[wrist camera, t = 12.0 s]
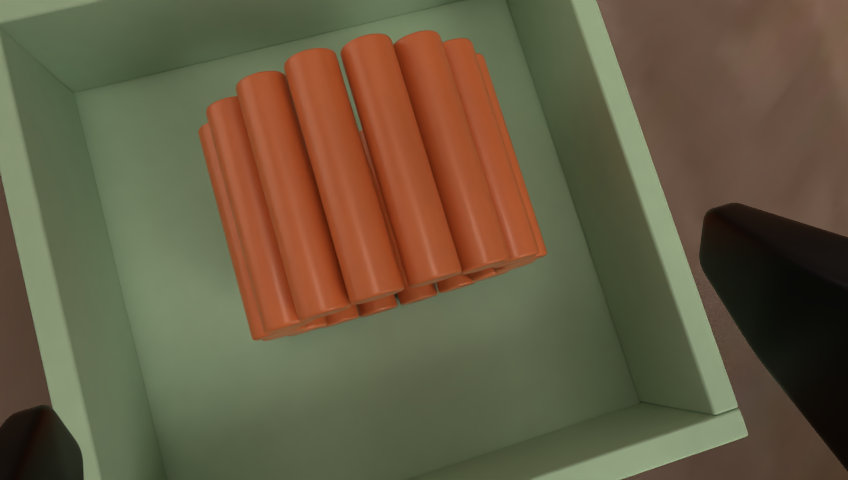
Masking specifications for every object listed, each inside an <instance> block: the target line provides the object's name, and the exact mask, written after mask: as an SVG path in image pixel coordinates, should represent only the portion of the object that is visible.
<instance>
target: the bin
mask: <svg viewBox="0 0 848 480" xmlns="http://www.w3.org/2000/svg"><path fill="white" fill-rule="evenodd" d="M424 30H431V31H435V32H437V33H438V34H439V35H440V37H441V40H442V42H445V41H448V40H451V39H456V38H467V39H469V40H470V41H471V42H472V43H473V47H474V50H475V53H479V54H482V55H483V56H484V58H485V61H486V65H487V68H488V71H489V74H490V77H491V80H492V83H493V86H494V89H495V92H496V95H497V99H498V102H499V105H500V108H501V111H502V114H503V117H504V120H505V123H506V126H507V129H508V133H509V136H510V139H511V142H512V145H513V148H514V151H515V154H516V157H517V160H518V163H519V167H520V170H521V173H522V176H523V179H524V182H525V185H526V188H527V191H528V194H529V197H530V201H531V204H532V207H533V210H534V213H535V216H536V219H537V222H538V225H539V228H540V231H541V235H542V238H543V241H544V244H545V247H546V250H547V255H545V256H544V257H541V258H538V259H536V260H535V261H534V262H532V263H530V264H527V265H524V266H521V267H518V268H515V269H512V270H510V271H508V272H507V273H504V274H501V275H498V276H495V277H492V278H489V279H485V280H481V281H477V282H476V283H475V284H472V285H469V286H466V287H463V288H460V289H457V290H453V291H450V292H446V293H439V291H438V288H437V284H436V282H435V285H436V288H437V292H438V294H437V295H436V296H434V297H431V298H428V299H425V300H422V301H419V302H415V303H412V304H408V305H401V304H400V301H399V298H398V294H397V293H396V294H395V298H396V301H397V307H396V308H394V309H391V310H388V311H385V312H381V313H378V314H375V315H371V316H367V317H360V316H359V317H358V318H357V319H354V320H351V321H348V322H345V323H342V324H338V325H335V326H331V327H327V328H319V329H316V330H312V331H309V332H306V333H302V334H298V335H294V336H284V337H281V338H277V339H273V340H269V341H262V340H258V341H256V340H253V339H252V337H251V333H250V329H249V325H248V321H247V318H246V314H245V310H244V306H243V302H242V299H241V295H240V291H239V287H238V283H237V279H236V276H235V272H234V268H233V264H232V260H231V257H230V253H229V249H228V245H227V241H226V238H225V234H224V230H223V226H222V222H221V218H220V215H219V211H218V207H217V203H216V199H215V196H214V192H213V188H212V184H211V180H210V177H209V173H208V169H207V165H206V161H205V158H204V154H203V150H202V146H201V142H200V138H199V135H198V131H199V129H200V127H201V126H203V125H204V124H206V123H208V119H207V116H206V110H207V108H208V106H209V105H211V104H212V103H214V102H216V101H218V100H221V99H224V98H227V97H233V96H237V93H236V85H237V83H238V82H239V81H240V80H241V79H243V78H244V77H246V76H248V75H251V74H254V73H258V72H262V71H279V72H282V73H284V74H285V70H284V64H285V62H286V61H287V59H288V58H290V57H291V56H293V55H294V54H296V53H299V52H301V51H304V50H308V49H312V48H328V49H331V50H333V51H334V52H335V53H336V55H337V59H338V62H339V66H340V69H341V72H342V76H343V79H344V83H345V86H346V89H347V93H348V96H349V100H350V103H351V106H352V110H353V113H354V117H355V120H356V123H357V127H358V130H359V131H361V130H362V127H361V123H360V120H359V116H358V113H357V110H356V106H355V103H354V99H353V96H352V93H351V89H350V86H349V83H348V79H347V76H346V72H345V69H344V66H343V62H342V59H341V55H340V54H341V49H342V48H343V46H344V45H346V44H347V43H348V42H350V41H351V40H353V39H355V38H358V37H360V36H364V35H368V34H376V33H380V34H385V35H387V36H389V37H390V38H391V40H392V43H393V45H394V43H395V42H396V41H398V40H399V39H401V38H402V37H404V36H406V35H409V34H411V33H414V32H418V31H424ZM285 75H286V74H285ZM0 173H1V178H2V182H3V187H4V191H5V196H6V200H7V205H8V209H9V214H10V219H11V223H12V228H13V232H14V237H15V241H16V246H17V250H18V255H19V259H20V264H21V268H22V273H23V277H24V282H25V286H26V291H27V295H28V300H29V304H30V309H31V313H32V318H33V322H34V327H35V331H36V336H37V340H38V345H39V349H40V354H41V358H42V363H43V367H44V372H45V376H46V381H47V385H48V390H49V394H50V399H51V403H52V408H53V410H54V411H55V412H56V413H57V415H58V416H59V418H60V419H61V420H62V422H63V423H64V424H65V426H66V427H67V429H68V430H69V431H70V433H71V434H72V436H73V437H74V438H75V440H76V441H77V443H78V445H79V447H80V449H81V452H82V457H83V471H84V480H621V479H624V478H627V477H630V476H633V475H636V474H639V473H641V472H644V471H647V470H650V469H653V468H656V467H659V466H662V465H665V464H668V463H671V462H674V461H677V460H680V459H682V458H685V457H688V456H691V455H694V454H697V453H700V452H703V451H706V450H709V449H712V448H715V447H718V446H721V445H723V444H726V443H729V442H732V441H735V440H738V439H741V438H744V437H746V436H748V432H747V429H746V426H745V423H744V420H743V418H742V415H741V412H740V410H739V409H737V407H738V404H737V401H736V398H735V396H734V393H733V390H732V387H731V384H730V381H729V378H728V376H727V373H726V370H725V367H724V364H723V361H722V358H721V356H720V353H719V350H718V347H717V344H716V341H715V338H714V336H713V333H712V330H711V327H710V324H709V321H708V318H707V316H706V313H705V310H704V307H703V304H702V301H701V298H700V296H699V293H698V290H697V287H696V284H695V281H694V279H693V276H692V273H691V270H690V267H689V264H688V261H687V259H686V256H685V253H684V250H683V247H682V244H681V241H680V239H679V236H678V233H677V230H676V227H675V224H674V221H673V219H672V216H671V213H670V210H669V207H668V204H667V201H666V199H665V196H664V193H663V190H662V187H661V184H660V181H659V179H658V176H657V173H656V170H655V167H654V164H653V161H652V159H651V156H650V153H649V150H648V147H647V144H646V141H645V139H644V136H643V133H642V130H641V127H640V124H639V121H638V119H637V116H636V113H635V110H634V107H633V104H632V101H631V99H630V96H629V93H628V90H627V87H626V84H625V81H624V79H623V76H622V73H621V70H620V67H619V64H618V61H617V59H616V56H615V53H614V50H613V47H612V44H611V41H610V39H609V36H608V33H607V30H606V27H605V24H604V22H603V19H602V16H601V13H600V10H599V7H598V4H597V2H596V0H0Z"/></svg>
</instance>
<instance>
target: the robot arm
mask: <svg viewBox="0 0 848 480" xmlns="http://www.w3.org/2000/svg"><path fill="white" fill-rule="evenodd" d="M699 258H700V264H701V267H702V269H703V271H704V273H705V275H706V276H707V278H708V280H709V281H710V283H711V284H712V286H713V288H714V289H715V291H716V292H717V294H718V296H719V297H720V299H721V300H722V302H723V304H724V305H725V307H726V308H727V310H728V312H729V313H730V315H731V316H732V318H733V320H734V321H735V323H736V324H737V326H738V328H739V329H740V331H741V332H742V334H743V336H744V337H745V339H746V340H747V342H748V343H749V345H750V346H751V348H752V349H753V351H754V352H755V354H756V355H757V357H758V358H759V359H760V361H761V362H762V363H763V365H764V366H765V367H766V369H767V370H768V371H769V373H770V374H771V375H772V376H773V378H774V379H775V380H776V381H777V383H778V384H779V385H780V386H781V388H782V389H783V390H784V392H785V393H786V394H787V395H788V397H789V398H790V399H791V400H792V402H793V403H794V404H795V405H796V407H797V408H798V409H799V411H800V412H801V413H802V414H803V416H804V417H805V418H806V419H807V421H808V422H809V423H810V424H811V426H812V427H813V428H814V429H815V431H816V432H817V433H818V435H819V436H820V437H821V438H822V440H823V441H824V442H825V443H826V445H827V446H828V447H829V448H830V450H831V451H832V452H833V454H834V455H835V456H836V457H837V459H838V460H839V461H840V462H841V464H842V465H843V466H844V467H845V469H846V470H847V471H848V237H845V236H842V235H838V234H835V233H832V232H829V231H826V230H823V229H819V228H816V227H813V226H810V225H807V224H803V223H800V222H797V221H794V220H791V219H787V218H784V217H781V216H778V215H775V214H771V213H768V212H765V211H762V210H759V209H756V208H752V207H749V206H746V205H743V204H739V203H729V204H726V205H723V206H719V207H716V208H712V209H710V210H709V211H707V213H706V214H705V216H704V220H703V228H702V237H701V245H700V253H699ZM0 480H84V471H83V457H82V452H81V449H80V447H79V445H78V443H77V441H76V440H75V438H74V437H73V436H72V434H71V433H70V431H69V430H68V429H67V427H66V426H65V424H64V423H63V422H62V420H61V419H60V418H59V416H58V415H57V413H56V412H55V411H54V410H53V409H52V408H51V407H49V406H47V405H40V406H37V407H33V408H30V409H26V410H23V411H20V412H17V413H14V414H12V415H11V416H10V417H9V418H8V419H7V420H6V421H5V422H4V423H3V425H2V426H1V427H0Z"/></svg>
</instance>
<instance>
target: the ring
mask: <svg viewBox="0 0 848 480" xmlns="http://www.w3.org/2000/svg"><path fill="white" fill-rule="evenodd" d="M340 55H341V59H342V62H343V66H344V69H345V72H346V76H347V79H348V83H349V86H350V89H351V93H352V96H353V99H354V103H355V106H356V110H357V113H358V116H359V120H360V123H361V127H362V130H361V131H359V130H358V127H357V123H356V120H355V117H354V113H353V110H352V106H351V103H350V100H349V96H348V93H347V89H346V86H345V83H344V79H343V76H342V72H341V69H340V66H339V62H338V59H337V55H336V53H335V52H334V51H333V50H331V49H328V48H312V49H308V50H304V51H301V52H299V53H296V54H294V55H293V56H291V57H290V58H288V59H287V61H286V62H285V64H284V70H285V74H286V75H285V74H284V73H282V72H279V71H262V72H258V73H254V74H251V75H248V76H246V77H244V78H243V79H241V80H240V81H239V82H238V83H237V85H236V93H237V96H233V97H227V98H224V99H221V100H218V101H216V102H214V103H212V104H211V105H209V106H208V108H207V110H206V116H207V119H208V123H206V124H204V125H203V126H201V127H200V129H199V131H198V135H199V138H200V142H201V146H202V150H203V154H204V158H205V161H206V165H207V169H208V173H209V177H210V180H211V184H212V188H213V192H214V196H215V199H216V203H217V207H218V211H219V215H220V218H221V222H222V226H223V230H224V234H225V238H226V241H227V245H228V249H229V253H230V257H231V260H232V264H233V268H234V272H235V276H236V279H237V283H238V287H239V291H240V295H241V299H242V302H243V306H244V310H245V314H246V318H247V321H248V325H249V329H250V333H251V337H252V339H253V340H256V341H258V340H262V341H269V340H273V339H277V338H281V337H284V336H294V335H298V334H302V333H306V332H309V331H312V330H316V329H319V328H327V327H331V326H335V325H338V324H342V323H345V322H348V321H351V320H354V319H357V318H358V317H359V316H360V317H367V316H371V315H375V314H378V313H381V312H385V311H388V310H391V309H394V308H396V307H397V301H396V298H395V294H396V293H397V294H398V298H399V301H400V304H401V305H408V304H412V303H415V302H419V301H422V300H425V299H428V298H431V297H434V296H436V295H437V294H438V292H437V288H438V291H439V293H446V292H450V291H453V290H457V289H460V288H463V287H466V286H469V285H472V284H475V283H476V282H477V281H481V280H485V279H489V278H492V277H495V276H498V275H501V274H504V273H507V272H508V271H510V270H512V269H515V268H518V267H521V266H524V265H527V264H530V263H532V262H534V261H535V260H536V259H538V258H541V257H544V256H545V255H547V250H546V247H545V244H544V241H543V238H542V235H541V231H540V228H539V225H538V222H537V219H536V216H535V213H534V210H533V207H532V204H531V201H530V197H529V194H528V191H527V188H526V185H525V182H524V179H523V176H522V173H521V170H520V167H519V163H518V160H517V157H516V154H515V151H514V148H513V145H512V142H511V139H510V136H509V133H508V129H507V126H506V123H505V120H504V117H503V114H502V111H501V108H500V105H499V102H498V99H497V95H496V92H495V89H494V86H493V83H492V80H491V77H490V74H489V71H488V68H487V65H486V61H485V58H484V56H483V55H482V54H479V53H475V50H474V47H473V43H472V42H471V41H470V40H469V39H467V38H456V39H451V40H448V41H445V42H442V40H441V37H440V35H439V34H438V33H437V32H435V31H431V30H424V31H418V32H414V33H411V34H409V35H406V36H404V37H402V38H401V39H399V40H398V41H396V42H395V43H394V45H393V43H392V40H391V38H390V37H389V36H387V35H385V34H380V33H376V34H368V35H364V36H360V37H358V38H355V39H353V40H351V41H350V42H348V43H347V44H346V45H344V46H343V48H342V49H341V54H340ZM435 282H436V284H437V288H436V285H435Z"/></svg>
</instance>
